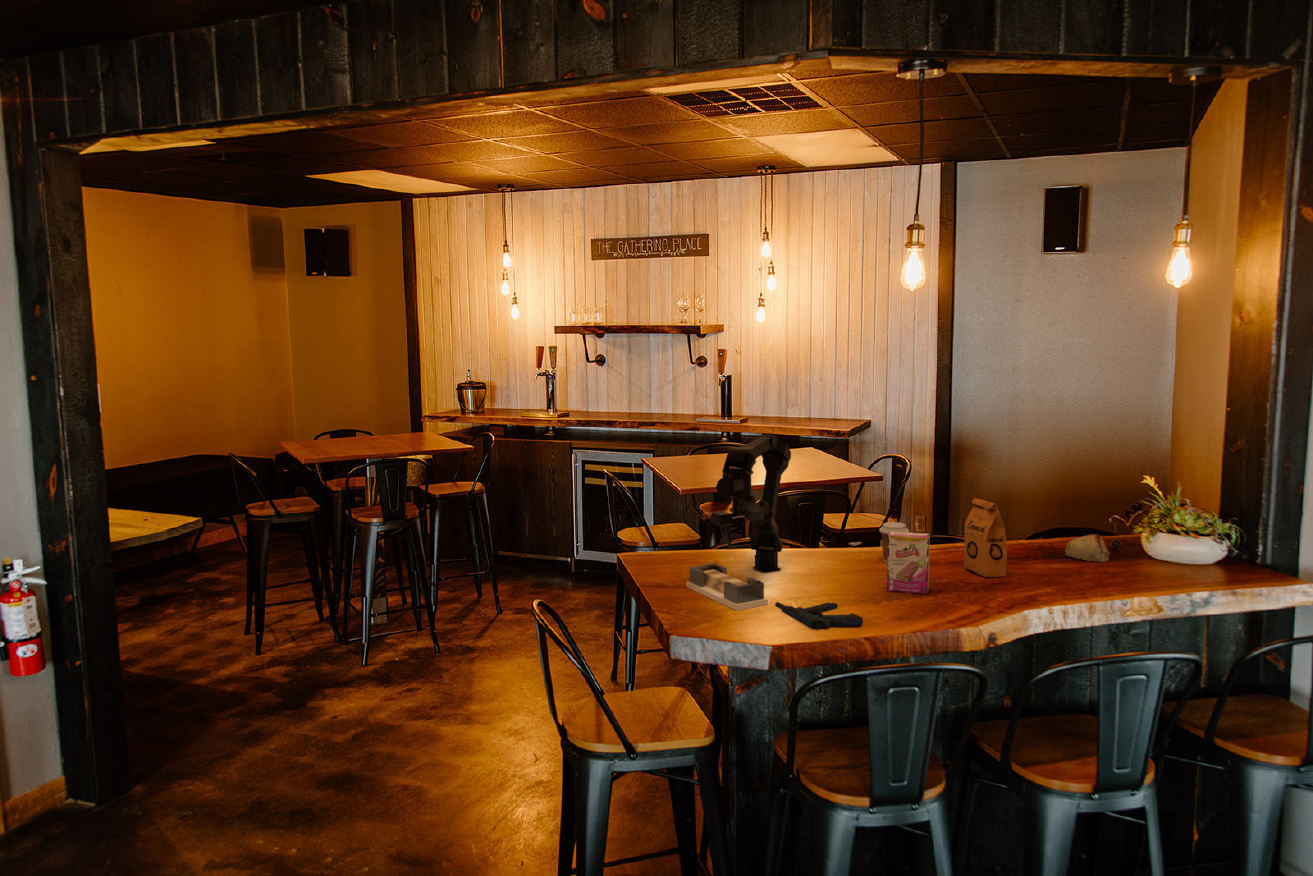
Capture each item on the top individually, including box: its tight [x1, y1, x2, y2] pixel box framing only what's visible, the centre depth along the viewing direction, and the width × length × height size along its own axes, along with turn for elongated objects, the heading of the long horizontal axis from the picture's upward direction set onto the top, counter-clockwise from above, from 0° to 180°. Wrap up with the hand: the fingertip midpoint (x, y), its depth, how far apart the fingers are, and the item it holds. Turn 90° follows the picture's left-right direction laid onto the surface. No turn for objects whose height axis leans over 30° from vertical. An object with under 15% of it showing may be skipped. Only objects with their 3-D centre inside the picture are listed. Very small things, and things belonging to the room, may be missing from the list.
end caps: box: [689, 562, 765, 604], centre depth 244 cm, size 25×9×4 cm, turn 28°
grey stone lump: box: [1064, 533, 1110, 563], centre depth 279 cm, size 14×12×8 cm
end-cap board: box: [685, 580, 769, 612], centre depth 245 cm, size 26×10×2 cm, turn 28°
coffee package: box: [963, 497, 1008, 578], centre depth 262 cm, size 10×12×22 cm
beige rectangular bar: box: [705, 569, 748, 594], centre depth 244 cm, size 20×4×4 cm, turn 28°
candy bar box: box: [886, 531, 931, 595], centre depth 245 cm, size 11×5×16 cm, turn 71°
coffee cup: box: [878, 521, 910, 564], centre depth 278 cm, size 9×9×12 cm
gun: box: [775, 601, 864, 630], centre depth 226 cm, size 24×3×15 cm
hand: (742, 543), depth 256 cm, fingers open, 9 cm apart
